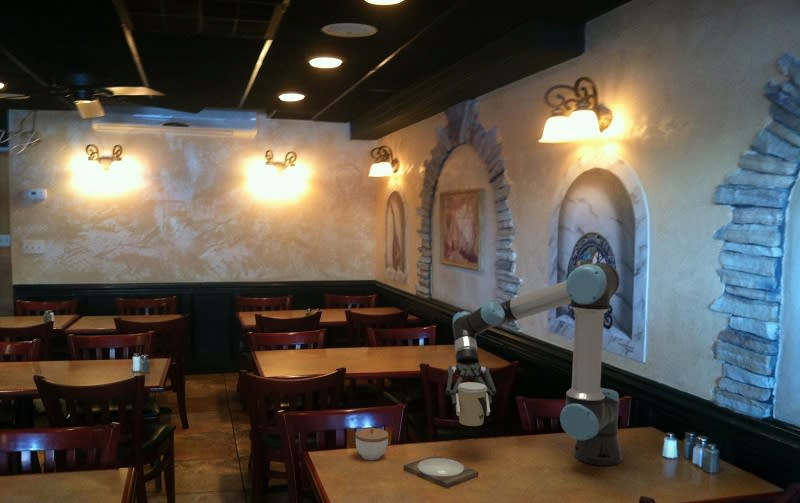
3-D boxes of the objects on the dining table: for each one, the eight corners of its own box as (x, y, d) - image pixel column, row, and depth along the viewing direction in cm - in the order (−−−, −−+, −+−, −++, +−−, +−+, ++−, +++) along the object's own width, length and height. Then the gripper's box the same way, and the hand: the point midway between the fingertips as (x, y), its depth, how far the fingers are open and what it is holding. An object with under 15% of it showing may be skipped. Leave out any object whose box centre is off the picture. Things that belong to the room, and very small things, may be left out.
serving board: (478, 476, 211) (478, 469, 211) (446, 488, 202) (446, 481, 202) (434, 459, 224) (435, 453, 224) (403, 470, 215) (403, 463, 215)
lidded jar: (394, 457, 226) (395, 428, 225) (371, 465, 218) (371, 436, 217) (371, 448, 233) (372, 421, 232) (347, 456, 225) (348, 427, 225)
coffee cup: (484, 427, 219) (485, 390, 218) (455, 425, 221) (456, 388, 220) (487, 419, 228) (488, 383, 228) (458, 417, 230) (459, 381, 229)
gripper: (496, 359, 240) (504, 419, 225) (433, 359, 238) (438, 419, 223) (499, 347, 234) (509, 407, 219) (435, 347, 233) (440, 407, 218)
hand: (473, 413), depth 221 cm, fingers closed on coffee cup, 9 cm apart
